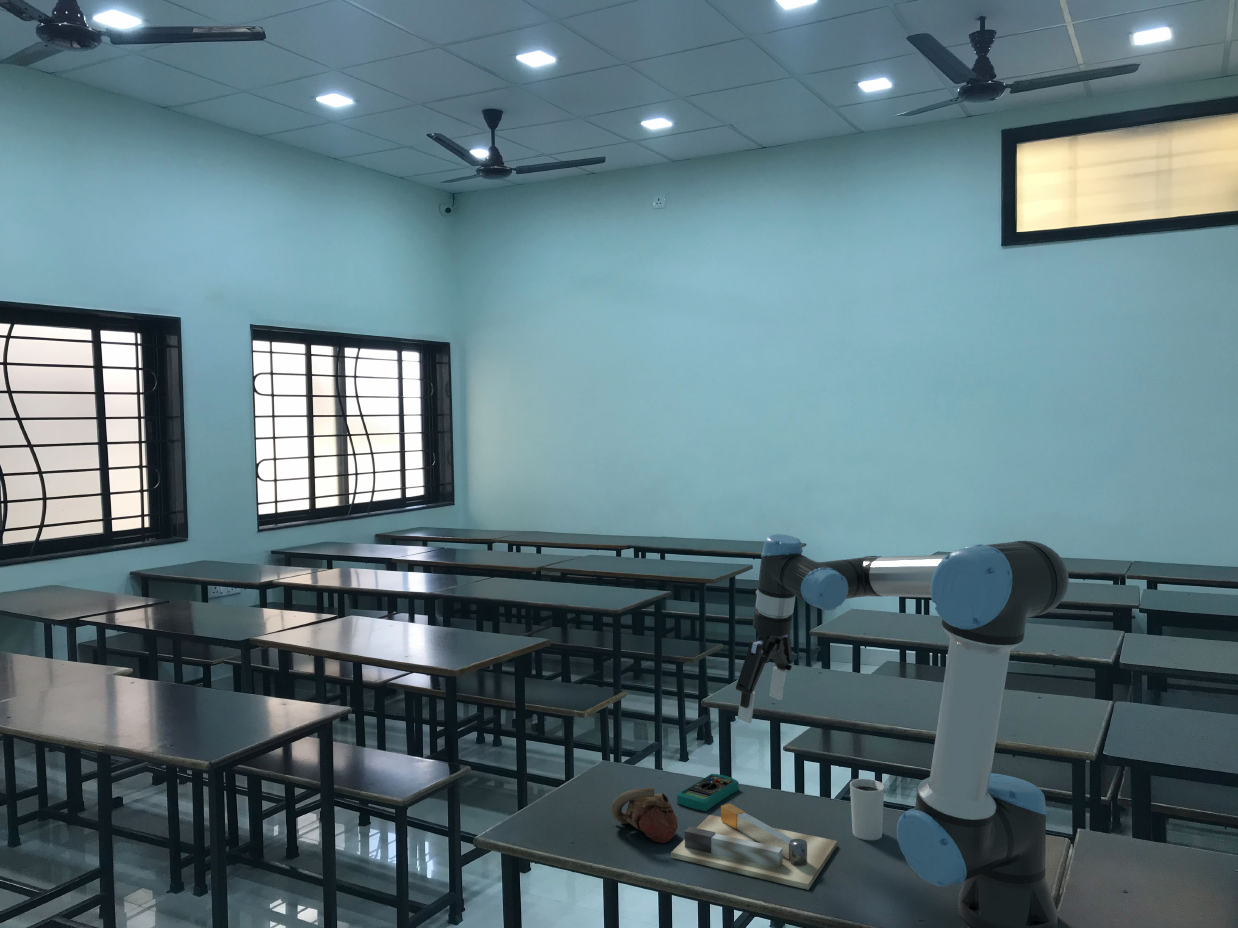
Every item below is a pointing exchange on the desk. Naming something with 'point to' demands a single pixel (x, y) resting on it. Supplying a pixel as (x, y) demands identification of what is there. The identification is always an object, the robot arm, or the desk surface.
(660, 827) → the anatomical model
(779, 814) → the desk surface
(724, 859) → the board
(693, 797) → the digital multimeter
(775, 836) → the bar
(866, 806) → the white coffee cup
